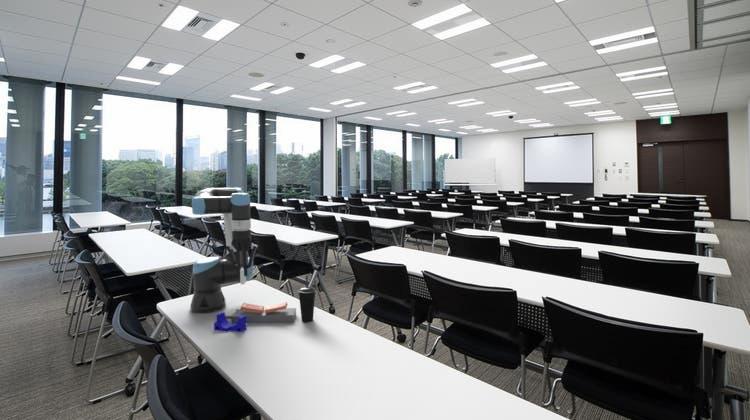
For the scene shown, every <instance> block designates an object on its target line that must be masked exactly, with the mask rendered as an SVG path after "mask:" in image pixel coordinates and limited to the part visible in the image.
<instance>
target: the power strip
mask: <svg viewBox="0 0 750 420" xmlns="http://www.w3.org/2000/svg"><path fill="white" fill-rule="evenodd" d="M265 309H266V308H264V310H263V312H262V313H256V312H250V311H245V310H240V309H239V308H237V309H236V310H235V311H234V312H233V313H232V315H225V317H226V319H227V320H230V323H231V324H237V322H238V318H239V317H241V316H242V315H245V316H246V324H277V323H278V324H279V323H280V324H284V323H294V322H295V320H296V316H297V308H296V307H289V308H288V307H286V309H283V310H278V311H274V312H269V313H265Z"/></svg>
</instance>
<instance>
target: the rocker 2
mask: <svg viewBox="0 0 750 420" xmlns="http://www.w3.org/2000/svg"><path fill="white" fill-rule="evenodd" d="M286 308H288V302H287V301H286V302H282V303H277V304H272V305H268V306H266V307H265V308H264V309H265V313H269V312H274V311H278V310H283V309H286Z"/></svg>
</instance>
